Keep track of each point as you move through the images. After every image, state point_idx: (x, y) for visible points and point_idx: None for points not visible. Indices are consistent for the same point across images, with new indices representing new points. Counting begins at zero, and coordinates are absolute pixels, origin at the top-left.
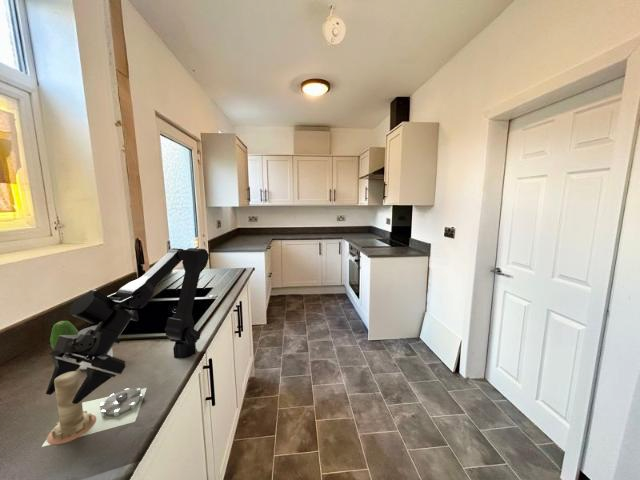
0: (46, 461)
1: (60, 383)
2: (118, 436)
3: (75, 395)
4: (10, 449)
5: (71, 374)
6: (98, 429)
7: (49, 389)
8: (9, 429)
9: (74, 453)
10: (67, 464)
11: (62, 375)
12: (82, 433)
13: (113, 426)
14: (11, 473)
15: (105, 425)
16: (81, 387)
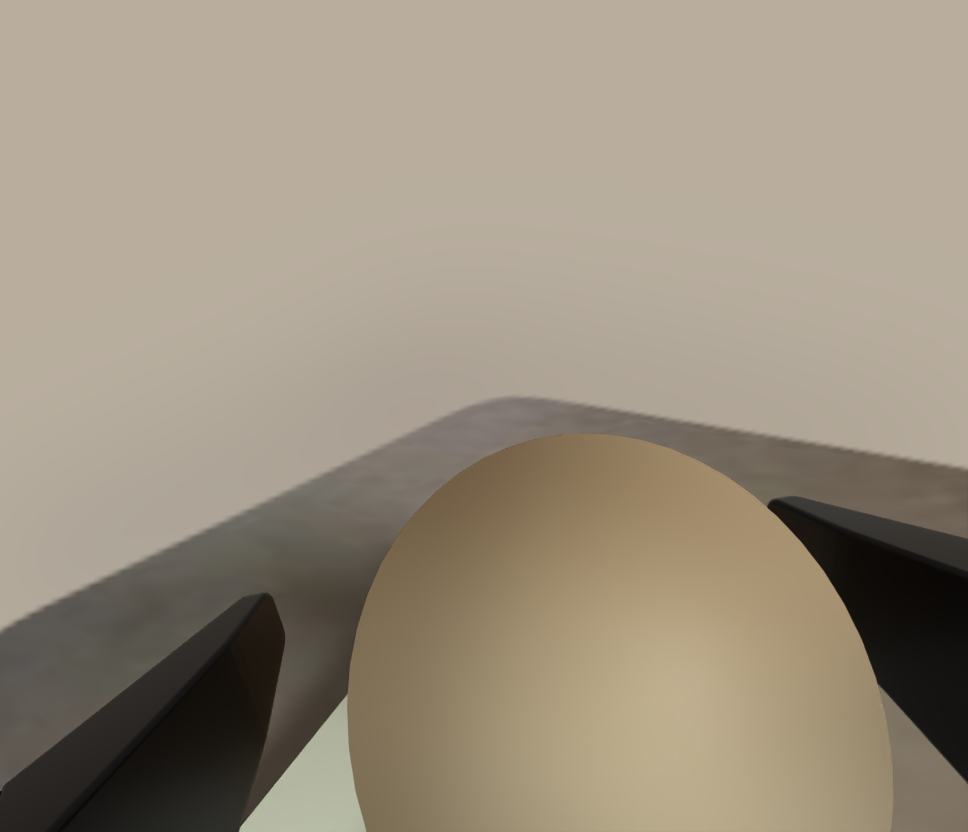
0: (416, 493)
1: (437, 495)
2: None
3: (219, 639)
4: (669, 432)
5: (626, 818)
6: (337, 743)
7: (804, 519)
8: (872, 465)
9: (335, 584)
10: (294, 537)
11: (775, 633)
12: None
13: (252, 830)
14: (483, 402)
15: (326, 798)
16: (88, 754)
